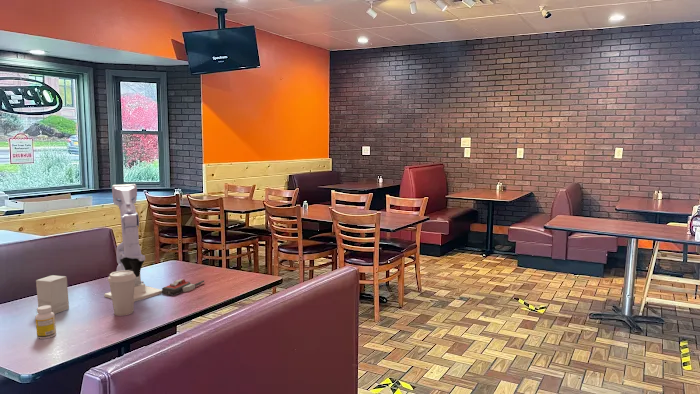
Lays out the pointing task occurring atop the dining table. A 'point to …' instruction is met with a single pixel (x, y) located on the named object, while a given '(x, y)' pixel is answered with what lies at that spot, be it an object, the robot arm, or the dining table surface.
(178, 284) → the walkie-talkie
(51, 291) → the supplement box
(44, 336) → the supplement bottle
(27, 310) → the dining table surface
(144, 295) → the jack stand base
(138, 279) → the column
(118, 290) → the coffee cup
